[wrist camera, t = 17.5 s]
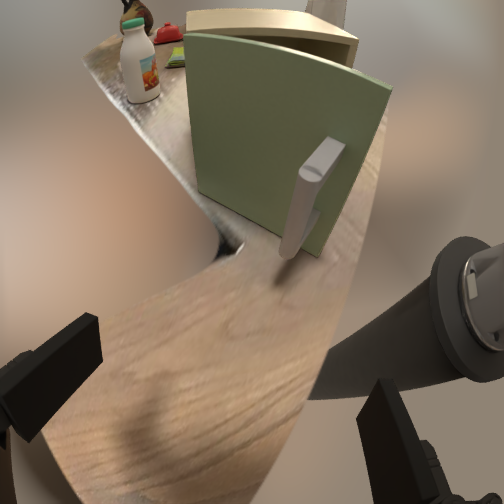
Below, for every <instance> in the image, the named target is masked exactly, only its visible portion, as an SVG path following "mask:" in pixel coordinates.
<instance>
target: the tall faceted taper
mask: <svg viewBox="0 0 504 504" xmlns="http://www.w3.org/2000/svg"><path fill="white" fill-rule="evenodd" d="M346 2H347V0H308V4H307V7H306V10H305V13H308V14H311V15H313V16H315V17H317V18H319V19H322V20H324V21H326V22H328V23H330V24H332V25H334V26H336V27H338V28H340V29H341V30H343V29H344V20H345V11H346Z"/></svg>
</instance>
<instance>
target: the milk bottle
mask: <svg viewBox="0 0 504 504" xmlns="http://www.w3.org/2000/svg"><path fill="white" fill-rule="evenodd" d="M144 26H145V25H144V18H135V19H131V20H128V21H125V22H123V23H122V29H123V32H124V40H123V44H122V47H121V51H120V62H121V68H122V74H123V79H124V84H125V88H126V93H127V97H128V100H129V101H130V102H131V103H143V102H147V101H150V100H152V99H154V98H156V97H157V96H158V95H159V93H160V85H159V78H158V71H157V64H156V56H155V50H154V47H153V44H152V42H151V41H150V39H149V38H148V37H147V35H146V33H145V31H144Z"/></svg>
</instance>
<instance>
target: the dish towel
mask: <svg viewBox="0 0 504 504" xmlns="http://www.w3.org/2000/svg"><path fill="white" fill-rule="evenodd" d="M179 66H185V58H184V48H173V53H172V55H171V57H170V59H169V60H168V62H167V64H166V66H165V68H170V67H179Z"/></svg>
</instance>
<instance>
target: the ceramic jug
mask: <svg viewBox="0 0 504 504" xmlns="http://www.w3.org/2000/svg"><path fill="white" fill-rule="evenodd" d="M122 3H123V4H124V13H123V15H122V17H121V20H120V31H121V33H122V34H123V35H124V32H123V29H122V23H123V22H125V21H128V20H131V19H135V18H144V25H145V26H144V31H145V33H146V35H147V36H148V33H149V31H150V30H151V28H152V26H153V18H152V15H151V12H150V11H149V10H148V8H147V7H146V6H145V5H144V4H143V3H141V2H140V1H139V0H129V3H128V2H127V1H126V0H122Z"/></svg>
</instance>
